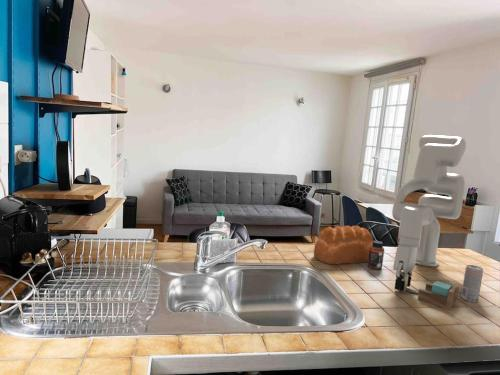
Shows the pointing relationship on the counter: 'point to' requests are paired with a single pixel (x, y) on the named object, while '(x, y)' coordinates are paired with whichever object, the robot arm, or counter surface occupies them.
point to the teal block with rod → (436, 287)
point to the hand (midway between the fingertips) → (402, 287)
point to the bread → (343, 245)
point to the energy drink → (472, 283)
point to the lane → (439, 296)
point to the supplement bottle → (376, 255)
